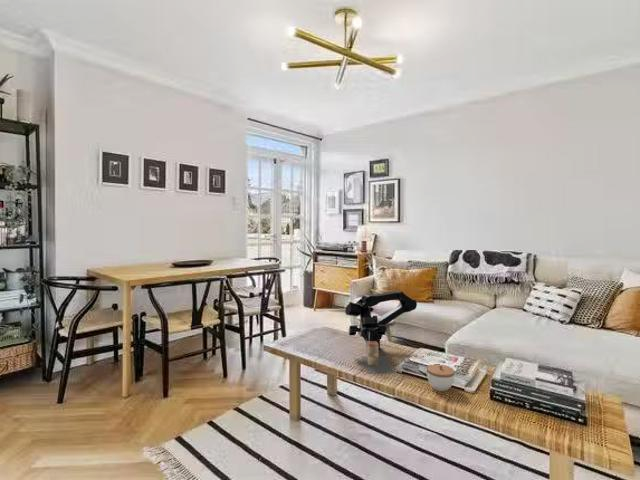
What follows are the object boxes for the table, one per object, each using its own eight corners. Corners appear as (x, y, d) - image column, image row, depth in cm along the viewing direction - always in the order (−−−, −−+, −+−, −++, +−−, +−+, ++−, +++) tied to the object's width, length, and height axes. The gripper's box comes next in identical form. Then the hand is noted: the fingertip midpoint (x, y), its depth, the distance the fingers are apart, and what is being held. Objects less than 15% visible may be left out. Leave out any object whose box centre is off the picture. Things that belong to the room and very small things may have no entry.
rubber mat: (384, 356, 183) (384, 355, 183) (395, 373, 163) (395, 372, 163) (360, 357, 183) (360, 356, 183) (368, 374, 163) (368, 373, 163)
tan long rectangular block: (376, 361, 176) (376, 341, 176) (378, 365, 172) (378, 344, 171) (366, 361, 176) (367, 341, 175) (368, 365, 171) (368, 344, 171)
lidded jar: (435, 379, 158) (435, 358, 157) (459, 388, 150) (459, 365, 150) (421, 387, 151) (422, 365, 150) (445, 396, 143) (446, 373, 142)
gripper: (349, 309, 184) (352, 338, 173) (386, 309, 185) (391, 338, 175) (347, 320, 192) (350, 349, 182) (382, 320, 193) (387, 348, 183)
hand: (369, 345), depth 180 cm, fingers closed
